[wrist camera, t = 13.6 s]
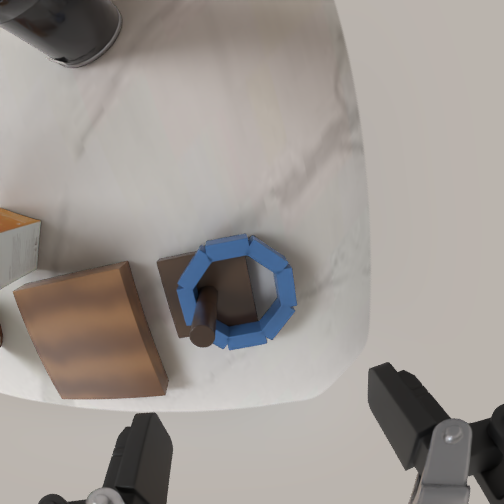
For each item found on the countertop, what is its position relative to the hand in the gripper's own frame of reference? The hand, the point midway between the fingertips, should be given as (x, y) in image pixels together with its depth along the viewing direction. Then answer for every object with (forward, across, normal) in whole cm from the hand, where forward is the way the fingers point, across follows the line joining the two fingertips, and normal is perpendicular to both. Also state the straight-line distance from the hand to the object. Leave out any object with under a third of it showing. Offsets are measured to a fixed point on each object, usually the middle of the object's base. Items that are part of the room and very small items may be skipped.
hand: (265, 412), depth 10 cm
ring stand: (+22, +4, +3) cm, 23 cm away
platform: (+22, +20, +6) cm, 31 cm away
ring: (+21, +1, +3) cm, 22 cm away
